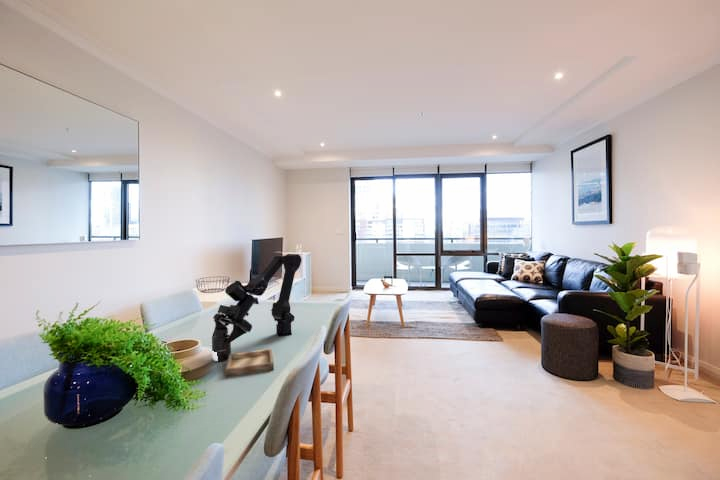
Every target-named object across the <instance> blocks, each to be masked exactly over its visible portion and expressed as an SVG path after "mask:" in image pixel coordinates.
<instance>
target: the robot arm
mask: <svg viewBox="0 0 720 480" xmlns="http://www.w3.org/2000/svg"><path fill="white" fill-rule="evenodd" d="M301 264H302V257H301V255H300V254H297V253H287V254H285V255H281V254H277V255H275V256H274V257H273V259H272V260H271V262H270V263H268V265H267V266H266V268H265V269H264V270H263V271H262V272H261V273H260V274H259V275H258V276H257V277H255V278H253V279H252V280H250V281H249V282H248V283H247V284H246V285H244V284H242V282H241V281H240V280H235V281H234V282H232V283H230V284H229V285H228V286H227V287H226V288H225V289H224V291H225V294H226V295H227V296H228V297H229V298H231V299H232V300H233V301H234V302H236V305H235V304H230V305H229V306H227V305H222V304H220V305H219V307H218V310H217V313H215V314H214V316H213V317H212V319H213V322H215V323H214V324H215V325H214V330H213V333H212V337H211V339H212V338H213V337H214V336H215V334H214V333H215V329H217V328H221V327H226V328H228V326H229V325H232V331H231V332H230V334H229V335H230V336H229V337H228V339H227V341H226V344H229V343H231V344H232V342H233V341H235V340H236V339H239V338H240V337H242V336H243V335H244V334H247V333H250V332H251V331H252V329H253V325H252V324H251V323H250V322H249V320H247V319H246V318H245V317H248V316H249V315H250V313H249V311H250V309H251V308H252V307H253V305H259V298H258V297H261V296H262V295H264V294H265V291H266V290H267V289H268V284H269V282H270V280H271V279H272V278H273V277H274V276H275V274H277V272H278V271H279V269H280V268H281V267H282V266H283V268H284V274H283V277H282V278H283V279H282V282H281V287H280V292H279V297H278V300H277V301H276V302H273V303H272V306H271V307H272V308H271V310H270V311H271V316H272V318H273V320H274V322H277V323H276V325H275V327H276V331H275V332H276V334H277V336H278V337H283V336H291V335H293V333H292V322H294V321H295V316H294V315H293V314H292V312H291V305H290V298H291V292H292V288H293V284H294V278H295V276H296V275H295V274H296V272H297V271H298V270H299V268H300V267H301ZM255 296H258V297H255Z"/></svg>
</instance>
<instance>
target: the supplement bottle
mask: <svg viewBox="0 0 720 480" xmlns="http://www.w3.org/2000/svg"><path fill="white" fill-rule="evenodd" d="M226 327H227V326H226ZM226 327H221V328H217V329H215V328H214V329H215V333H214V334H215V336H214V337H213V338H212V337H211V352H212V351H214V352H217V356H218V362H217V363H222V362H226V361H228V358H229V354H232V347H231V346H232V342H231V343H229V344H226V341H227V339H228V337H229V336H230V334H228V333H229V328H228V327H227V328H226Z"/></svg>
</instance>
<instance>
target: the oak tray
mask: <svg viewBox="0 0 720 480" xmlns="http://www.w3.org/2000/svg"><path fill="white" fill-rule="evenodd" d="M273 356H274V355H273V349H272V348H268V349H260V350H253V351H244V352H238V353H231V354H229V358H228V360H227V363H226V368H225V378H229V377H235V376H236V377H237V376H241V375H248V374H249V375H250V374H255V373H256V374H257V373H261V372H267V371H268V372H269V371H274V369H275V368H274V367H275V365H274V357H273Z"/></svg>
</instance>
